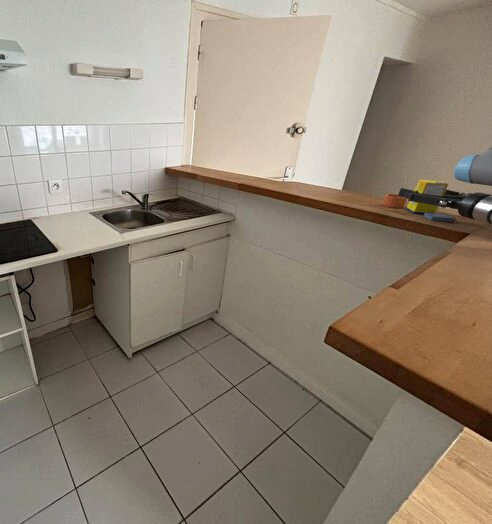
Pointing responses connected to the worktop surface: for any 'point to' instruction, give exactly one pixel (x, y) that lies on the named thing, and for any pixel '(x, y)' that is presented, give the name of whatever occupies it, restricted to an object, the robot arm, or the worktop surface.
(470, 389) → the worktop surface
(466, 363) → the worktop surface
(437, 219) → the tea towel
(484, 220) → the robot arm
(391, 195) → the ramekin
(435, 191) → the supplement box
